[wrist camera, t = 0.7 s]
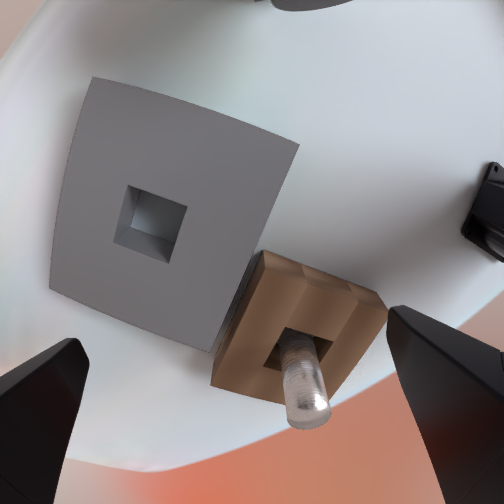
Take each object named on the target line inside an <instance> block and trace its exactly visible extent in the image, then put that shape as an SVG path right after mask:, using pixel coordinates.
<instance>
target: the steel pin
mask: <svg viewBox="0 0 504 504" xmlns="http://www.w3.org/2000/svg"><path fill="white" fill-rule="evenodd" d="M278 343H279V351H280V360H281V368H282V377H283V386H284V395H285V403H286V412H287V421H288V423H289V424H290V425H291V426H292V427H294V428H297V429H303V430H306V429H313V428H316V427H319V426H321V425H323V424H324V423H326V422H327V421H328V420H329V419H330V417H331V408H330V404H329V400H328V396H327V392H326V388H325V384H324V381H323V377H322V373H321V369H320V365H319V361H318V357H317V354H316V350H315V346H314V342H313V339H312V335H311V334H307V333H304V332H301V331H297V330H294V329H291V328H288V327H285V328H284V330H283V331H282V333H281V335H280V337H279V339H278Z"/></svg>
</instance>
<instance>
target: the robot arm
mask: <svg viewBox="0 0 504 504" xmlns="http://www.w3.org/2000/svg"><path fill="white" fill-rule="evenodd" d="M494 167H495V170H494ZM467 230H468V233H467ZM461 234H462V236H463V237H465V238H466V239H468V240H469V241H471V242H473V243H474V244H476V245H477V246H479V247H480V248H482V249H483V250H485V251H486V252H488V253H489V254H490V255H492V256H493V257H495V258H496V259H498V260H499V261H501V262H502V263H504V168H503V167H502V166H501V165H500V164H499V163H497V162H491V163H490V165H489V167H488V170H487V172H486V175H485V178H484V180H483V183H482V185H481V187H480V190H479V192H478V195H477V197H476V199H475V202H474V204H473V206H472V208H471V210H470V213H469V215H468V217H467V219H466V221H465V223H464V226H463V228H462V230H461ZM386 337H387V342H388V345H389V348H390V351H391V354H392V357H393V361H394V364H395V367H396V371H397V374H398V377H399V381H400V383H401V386H402V389H403V391H404V394H405V396H406V399H407V401H408V403H409V406H410V408H411V411H412V413H413V415H414V418H415V420H416V423H417V426H418V428H419V431H420V433H421V436H422V438H423V441H424V443H425V446H426V449H427V451H428V454H429V457H430V459H431V462H432V464H433V468H434V470H435V473H436V476H437V479H438V482H439V485H440V488H441V491H442V494H443V497H444V500H445V503H446V504H504V352H500V350H498V349H496V348H494V347H492V346H490V345H488V344H486V343H483V342H481V341H479V340H477V339H475V338H473V337H471V336H469V335H467V334H465V333H462V332H461V331H458V330H456V329H454V328H452V327H450V326H448V325H446V324H443V323H441V322H439V321H437V320H435V319H433V318H431V317H429V316H426V315H424V314H422V313H420V312H418V311H416V310H413V309H411V308H409V307H407V306H405V305H400V306H394V307H391V308H390V309H389V311H388V320H387V330H386ZM88 370H89V359H88V357H87V355H86V353H85V351H84V348H83V346H82V344H81V342H80V341H79V340H78V339H77V338H66V339H64V340H62V341H60V342H59V343H57V344H55V345H53V346H52V347H50V348H48V349H47V350H45V351H43V352H41V353H40V354H38V355H36V356H35V357H33V358H31V359H29V360H28V361H26V362H24V363H23V364H21V365H19V366H18V367H16V368H14V369H13V370H11V371H9V372H7V373H6V374H4V375H2V376H1V377H0V504H53V503H54V498H55V493H56V489H57V485H58V481H59V477H60V473H61V469H62V465H63V461H64V458H65V454H66V451H67V447H68V443H69V440H70V437H71V433H72V430H73V427H74V423H75V420H76V417H77V414H78V411H79V407H80V404H81V400H82V395H83V391H84V386H85V382H86V378H87V374H88Z"/></svg>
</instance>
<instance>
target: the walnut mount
mask: <svg viewBox="0 0 504 504" xmlns="http://www.w3.org/2000/svg"><path fill="white" fill-rule="evenodd" d="M388 311H389V310H388V309H387V307H386V306H385V304H384V303H383V301H382V300H381V298H380V297H379V296H378V294H377V293H376V292H374V291H372V290H369V289H366V288H364V287H361V286H359V285H356V284H353V283H351V282H348V281H345V280H343V279H340V278H338V277H335V276H332V275H330V274H327V273H324V272H322V271H319V270H317V269H314V268H311V267H309V266H306V265H303V264H301V263H298V262H295V261H293V260H290V259H287V258H285V257H282V256H279V255H277V254H274V253H272V252H269V251H266V250H264V249H263V251H262V253H261V256H260V258H259V260H258V262H257V265H256V267H255V269H254V271H253V274H252V276H251V278H250V280H249V283H248V285H247V287H246V289H245V292H244V294H243V296H242V298H241V301H240V303H239V305H238V307H237V309H236V312H235V314H234V316H233V318H232V321H231V323H230V325H229V327H228V329H227V332H226V334H225V336H224V338H223V341H222V343H221V345H220V347H219V349H218V352H217V354H216V356H215V358H214V363H213V370H212V377H211V384H210V386H214V387H217V388H220V389H224V390H227V391H231V392H235V393H238V394H242V395H246V396H250V397H254V398H258V399H262V400H266V401H270V402H274V403H279V404H283V405H286V403H285V395H284V386H283V377H282V368H281V360H280V351H279V346H278V345H275V344H276V342H277V340H278V339H279V337H280V335H281V333H282V331H283V330H284V328H285V327H288V328H291V329H294V330H297V331H301V332H304V333H307V334H311V335H314V337H313V342H314V346H315V350H316V354H317V357H318V361H319V365H320V369H321V373H322V377H323V381H324V384H325V388H326V392H327V396H328V400H330V399H331V397H332V396H333V395H334V393H335V392H336V391H337V390H338V388H339V387H340V386H341V384H342V383H343V382H344V381H345V379H346V378H347V377H348V375H349V374H350V373H351V371H352V370H353V368H354V367H355V366H356V364H357V363H358V362H359V360H360V359H361V357H362V356H363V355H364V353H365V352H366V350H367V349H368V347H369V346H370V345H371V343H372V342H373V340H374V339H375V337H376V336H377V334H378V333H379V331H380V330H381V328H382V327H383V325H384V324H385V322H386V321H387V319H388Z"/></svg>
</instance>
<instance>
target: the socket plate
mask: <svg viewBox="0 0 504 504" xmlns="http://www.w3.org/2000/svg"><path fill="white" fill-rule="evenodd" d="M299 145H300V144H297V143H295V142H293V141H290V140H288V139H286V138H283V137H281V136H278V135H276V134H274V133H271V132H269V131H266V130H264V129H261V128H259V127H256V126H254V125H251V124H248V123H246V122H243V121H240V120H238V119H235V118H232V117H230V116H227V115H224V114H221V113H218V112H216V111H213V110H210V109H207V108H204V107H201V106H198V105H195V104H192V103H189V102H186V101H182V100H179V99H176V98H173V97H169V96H166V95H163V94H159V93H156V92H152V91H149V90H145V89H141V88H138V87H134V86H130V85H126V84H122V83H118V82H114V81H110V80H106V79H102V78H97V77H92V80H91V83H90V86H89V89H88V91H87V94H86V97H85V100H84V103H83V107H82V110H81V113H80V116H79V120H78V123H77V126H76V130H75V134H74V137H73V141H72V145H71V149H70V153H69V157H68V161H67V165H66V170H65V174H64V179H63V184H62V189H61V194H60V200H59V206H58V212H57V218H56V225H55V232H54V240H53V248H52V258H51V269H50V283H49V288H50V289H52V290H54V291H56V292H58V293H60V294H62V295H64V296H66V297H68V298H71V299H73V300H75V301H77V302H79V303H82V304H84V305H86V306H88V307H90V308H93V309H95V310H97V311H100V312H102V313H104V314H107V315H109V316H111V317H114V318H116V319H119V320H121V321H124V322H126V323H129V324H131V325H134V326H136V327H139V328H141V329H144V330H146V331H149V332H152V333H154V334H157V335H160V336H162V337H165V338H168V339H171V340H173V341H176V342H179V343H182V344H185V345H188V346H191V347H193V348H196V349H199V350H202V351H205V352H208V353H210V351H211V348H212V346H213V344H214V341H215V339H216V337H217V334H218V332H219V330H220V328H221V325H222V323H223V321H224V318H225V316H226V314H227V311H228V309H229V307H230V305H231V302H232V300H233V298H234V295H235V293H236V291H237V288H238V286H239V284H240V281H241V279H242V277H243V275H244V272H245V270H246V268H247V265H248V263H249V261H250V258H251V256H252V254H253V251H254V249H255V247H256V245H257V242H258V240H259V238H260V235H261V233H262V231H263V228H264V226H265V224H266V221H267V219H268V217H269V215H270V212H271V210H272V208H273V205H274V203H275V201H276V198H277V196H278V194H279V191H280V189H281V187H282V185H283V182H284V180H285V178H286V175H287V173H288V171H289V168H290V166H291V164H292V161H293V159H294V157H295V154H296V152H297V150H298V148H299ZM140 189H141V190H144V191H147V192H150V193H152V194H155V195H158V196H161V197H163V198H166V199H169V200H171V201H174V202H177V203H180V204H182V205H185V206H188V207H187V210H186V213H185V216H184V219H183V222H182V225H181V228H180V231H179V234H178V237H177V240H176V243H175V244H173V243H171V242H168V241H165V240H163V239H160V238H157V237H155V236H152V235H149V234H147V233H144V232H141V231H139V230H136V229H134V228H131V227H130V225H131V222H132V218H133V214H134V210H135V207H136V203H137V200H138V196H139V193H140Z"/></svg>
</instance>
